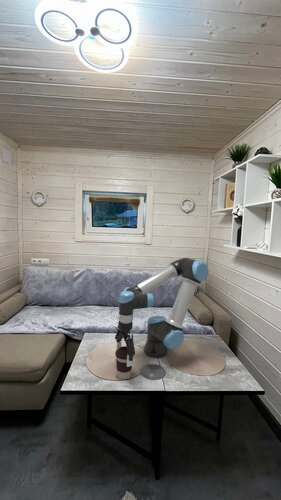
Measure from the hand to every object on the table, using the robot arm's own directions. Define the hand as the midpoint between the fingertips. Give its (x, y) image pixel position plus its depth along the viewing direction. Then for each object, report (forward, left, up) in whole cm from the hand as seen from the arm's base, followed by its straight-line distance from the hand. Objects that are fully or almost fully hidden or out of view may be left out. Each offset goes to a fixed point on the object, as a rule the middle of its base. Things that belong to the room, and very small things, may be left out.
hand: (123, 359), depth 134 cm
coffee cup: (0, 0, -10) cm, 10 cm away
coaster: (+4, +16, -9) cm, 19 cm away
